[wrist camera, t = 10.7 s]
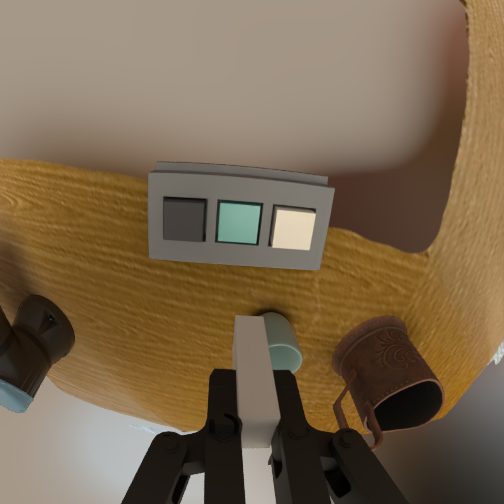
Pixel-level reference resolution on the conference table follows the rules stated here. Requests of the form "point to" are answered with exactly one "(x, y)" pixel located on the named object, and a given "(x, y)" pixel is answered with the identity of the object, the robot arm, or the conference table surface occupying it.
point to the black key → (184, 219)
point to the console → (238, 189)
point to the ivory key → (292, 227)
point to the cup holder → (386, 378)
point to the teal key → (238, 221)
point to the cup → (282, 343)
